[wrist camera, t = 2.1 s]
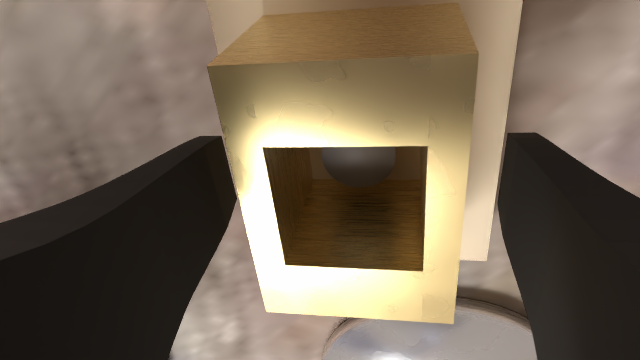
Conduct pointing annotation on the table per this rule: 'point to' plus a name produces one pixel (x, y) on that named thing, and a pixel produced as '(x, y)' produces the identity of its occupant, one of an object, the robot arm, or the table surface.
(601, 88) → the table surface
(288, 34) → the gold open box
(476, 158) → the stand
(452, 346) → the hub
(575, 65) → the table surface
